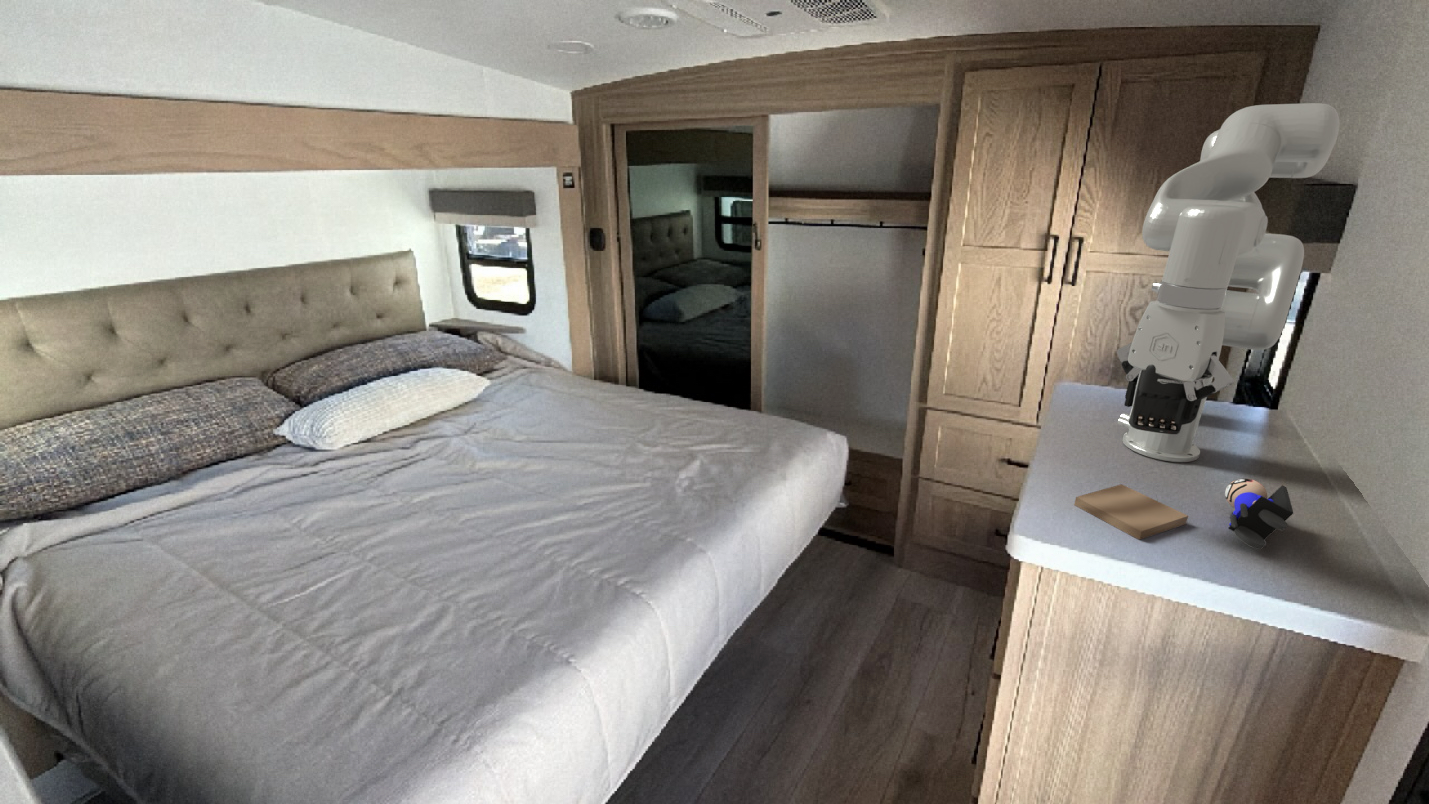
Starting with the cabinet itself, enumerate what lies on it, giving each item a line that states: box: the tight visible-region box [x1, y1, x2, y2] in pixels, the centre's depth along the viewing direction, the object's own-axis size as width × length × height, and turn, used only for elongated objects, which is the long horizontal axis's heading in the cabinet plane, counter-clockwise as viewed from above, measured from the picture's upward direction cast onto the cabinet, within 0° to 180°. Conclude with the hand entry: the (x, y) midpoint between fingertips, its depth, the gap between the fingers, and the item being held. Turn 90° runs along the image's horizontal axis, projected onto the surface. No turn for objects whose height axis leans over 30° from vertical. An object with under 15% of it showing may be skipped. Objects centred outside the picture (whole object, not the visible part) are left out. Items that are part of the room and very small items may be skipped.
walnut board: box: [1073, 484, 1189, 541], centre depth 102 cm, size 11×11×2 cm
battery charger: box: [1128, 364, 1196, 434], centre depth 94 cm, size 7×4×11 cm, turn 67°
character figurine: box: [1224, 477, 1294, 550], centre depth 96 cm, size 8×7×15 cm
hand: (1157, 413), depth 95 cm, fingers closed on battery charger, 7 cm apart
